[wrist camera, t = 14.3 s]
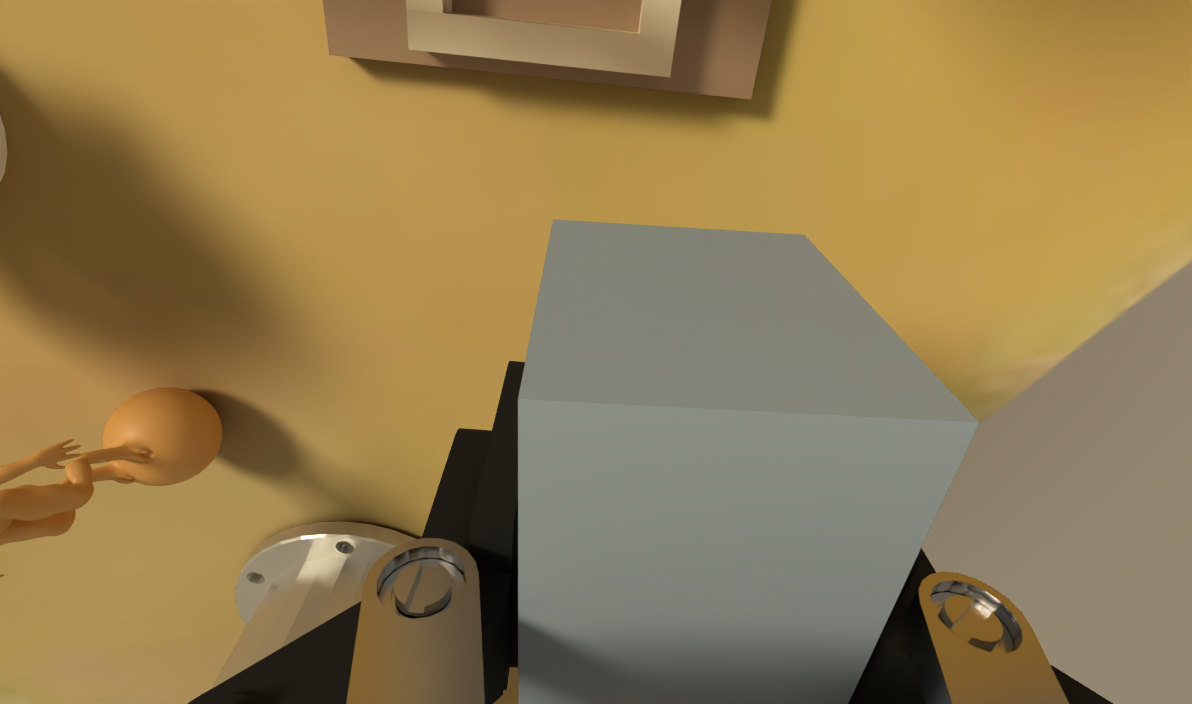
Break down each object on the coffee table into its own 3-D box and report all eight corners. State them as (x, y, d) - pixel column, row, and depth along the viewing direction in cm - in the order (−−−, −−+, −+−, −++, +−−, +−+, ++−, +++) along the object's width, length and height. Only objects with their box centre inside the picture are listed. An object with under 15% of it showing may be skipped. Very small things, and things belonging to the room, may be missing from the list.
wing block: (720, 577, 14) (781, 846, 9) (543, 570, 13) (518, 839, 9) (804, 234, 10) (979, 423, 5) (553, 220, 9) (518, 399, 5)
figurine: (196, 482, 29) (-33, 756, 18) (66, 411, 27) (-275, 676, 16) (281, 376, 25) (62, 635, 15) (140, 287, 23) (-224, 517, 13)
